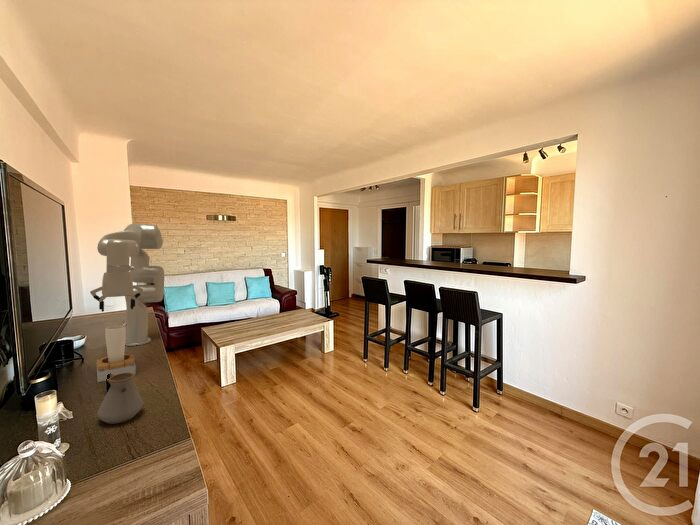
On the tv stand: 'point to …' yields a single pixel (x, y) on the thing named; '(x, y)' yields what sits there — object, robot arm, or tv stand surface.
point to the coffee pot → (120, 400)
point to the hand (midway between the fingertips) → (117, 309)
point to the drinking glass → (115, 343)
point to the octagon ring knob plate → (115, 367)
